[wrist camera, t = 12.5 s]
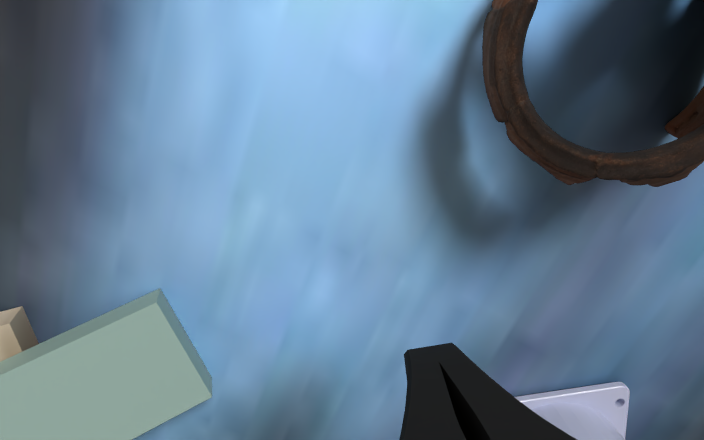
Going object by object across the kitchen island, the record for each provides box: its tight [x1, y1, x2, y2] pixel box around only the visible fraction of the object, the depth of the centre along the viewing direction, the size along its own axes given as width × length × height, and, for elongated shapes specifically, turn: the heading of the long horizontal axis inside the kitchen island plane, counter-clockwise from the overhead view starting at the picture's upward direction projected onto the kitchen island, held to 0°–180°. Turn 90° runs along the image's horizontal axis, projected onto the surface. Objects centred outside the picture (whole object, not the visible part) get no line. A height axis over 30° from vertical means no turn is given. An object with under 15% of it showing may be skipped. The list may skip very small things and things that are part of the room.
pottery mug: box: [482, 0, 704, 187], centre depth 14 cm, size 12×10×8 cm
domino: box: [0, 288, 212, 440], centre depth 18 cm, size 5×2×8 cm
